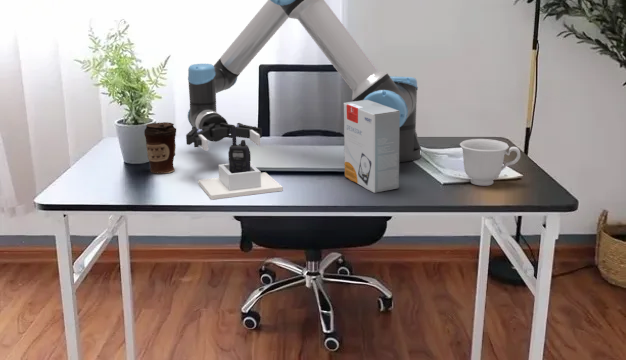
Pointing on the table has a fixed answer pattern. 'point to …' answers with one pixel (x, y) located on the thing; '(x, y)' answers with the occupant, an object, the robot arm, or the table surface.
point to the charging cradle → (239, 183)
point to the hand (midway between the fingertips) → (232, 142)
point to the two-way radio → (238, 155)
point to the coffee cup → (160, 146)
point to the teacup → (485, 159)
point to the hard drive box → (371, 145)
